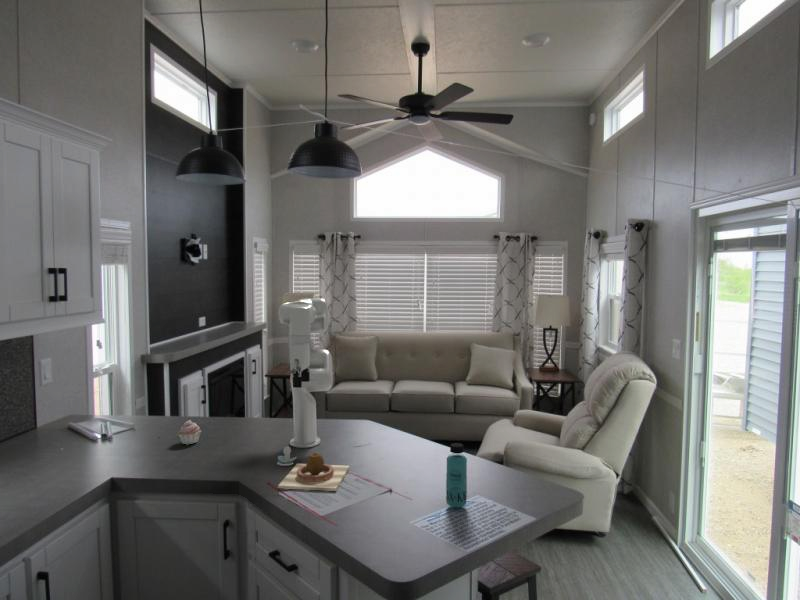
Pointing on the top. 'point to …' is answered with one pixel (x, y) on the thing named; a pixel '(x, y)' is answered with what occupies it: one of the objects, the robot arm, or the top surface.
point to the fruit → (315, 463)
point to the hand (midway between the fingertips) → (301, 384)
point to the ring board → (317, 485)
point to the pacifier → (286, 457)
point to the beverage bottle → (456, 477)
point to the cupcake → (189, 433)
